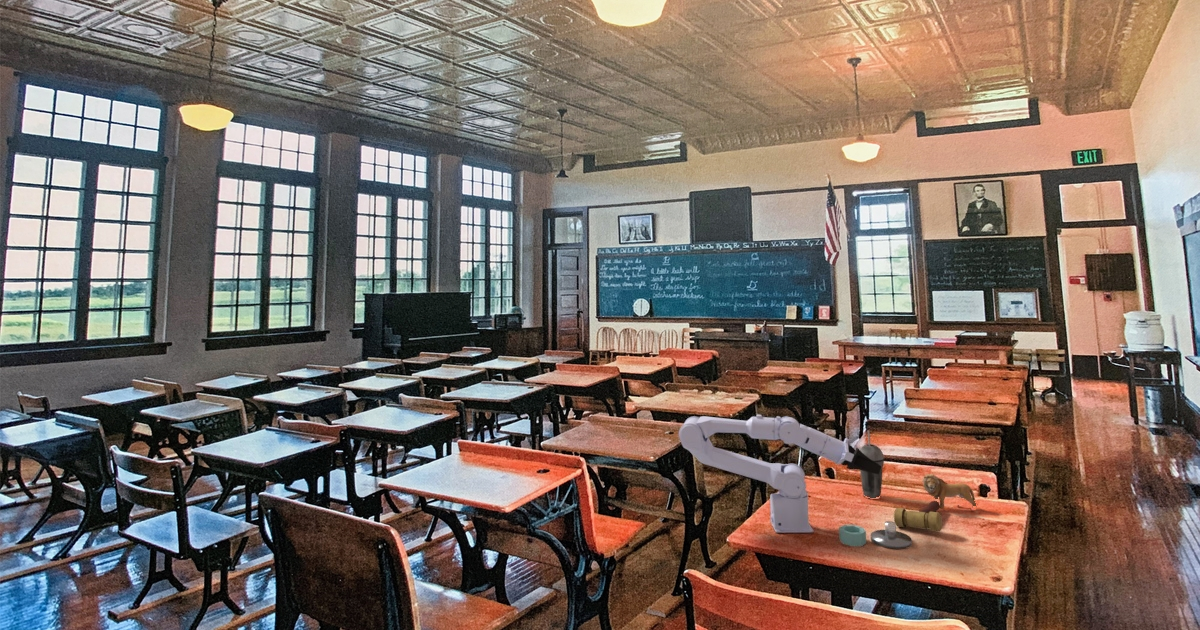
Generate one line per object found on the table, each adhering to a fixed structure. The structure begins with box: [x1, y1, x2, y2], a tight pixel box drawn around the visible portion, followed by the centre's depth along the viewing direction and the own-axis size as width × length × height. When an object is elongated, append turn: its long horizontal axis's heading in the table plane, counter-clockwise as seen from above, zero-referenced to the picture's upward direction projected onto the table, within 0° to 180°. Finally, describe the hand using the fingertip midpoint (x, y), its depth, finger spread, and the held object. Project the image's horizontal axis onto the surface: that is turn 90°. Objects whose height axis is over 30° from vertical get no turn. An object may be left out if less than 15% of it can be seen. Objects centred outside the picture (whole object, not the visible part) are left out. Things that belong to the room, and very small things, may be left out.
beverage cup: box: [859, 429, 885, 498], centre depth 176 cm, size 7×7×20 cm
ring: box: [838, 524, 867, 547], centre depth 147 cm, size 6×6×3 cm
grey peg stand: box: [870, 520, 913, 550], centre depth 146 cm, size 9×9×4 cm
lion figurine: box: [922, 473, 977, 510], centre depth 164 cm, size 15×5×9 cm, turn 88°
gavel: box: [893, 500, 943, 533], centre depth 157 cm, size 21×5×10 cm
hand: (876, 468), depth 150 cm, fingers open, 7 cm apart
